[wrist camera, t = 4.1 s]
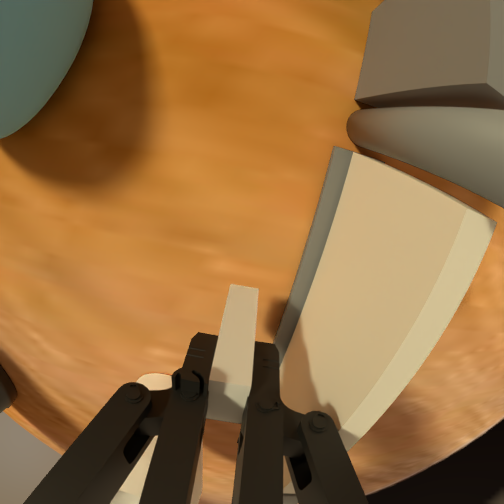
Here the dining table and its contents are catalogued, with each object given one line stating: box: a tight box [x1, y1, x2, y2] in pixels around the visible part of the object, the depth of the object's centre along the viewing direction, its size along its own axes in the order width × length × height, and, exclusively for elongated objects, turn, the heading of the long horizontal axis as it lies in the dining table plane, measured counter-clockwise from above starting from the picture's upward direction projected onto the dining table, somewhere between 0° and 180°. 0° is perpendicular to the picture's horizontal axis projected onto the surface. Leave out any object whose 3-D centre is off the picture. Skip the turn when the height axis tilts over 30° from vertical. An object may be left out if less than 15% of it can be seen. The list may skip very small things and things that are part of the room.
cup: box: [110, 373, 203, 504], centre depth 19 cm, size 9×9×12 cm
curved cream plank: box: [279, 152, 497, 494], centre depth 13 cm, size 16×2×10 cm, turn 168°
